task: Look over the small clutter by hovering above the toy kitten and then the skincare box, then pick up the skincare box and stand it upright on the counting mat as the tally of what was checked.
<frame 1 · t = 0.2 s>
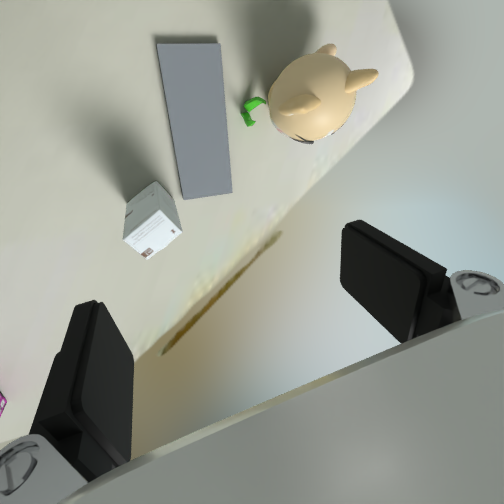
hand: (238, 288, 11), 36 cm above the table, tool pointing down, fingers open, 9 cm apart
kitten: (281, 100, 43), on the table
skincare box: (150, 202, 44), on the table
counting mat: (199, 128, 41), on the table
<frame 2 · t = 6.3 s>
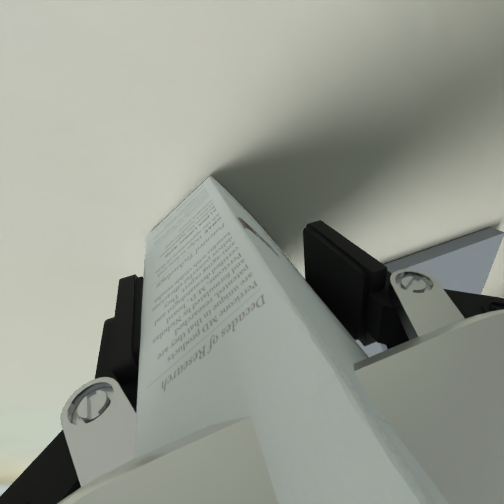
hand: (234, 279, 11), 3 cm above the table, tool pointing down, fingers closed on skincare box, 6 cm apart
skincare box: (214, 242, 14), on the table, touching gripper
counting mat: (371, 310, 21), on the table
when the fingers open (6 cm above the table, at t = 12.5 s): skincare box drops 1 cm, resting on counting mat.
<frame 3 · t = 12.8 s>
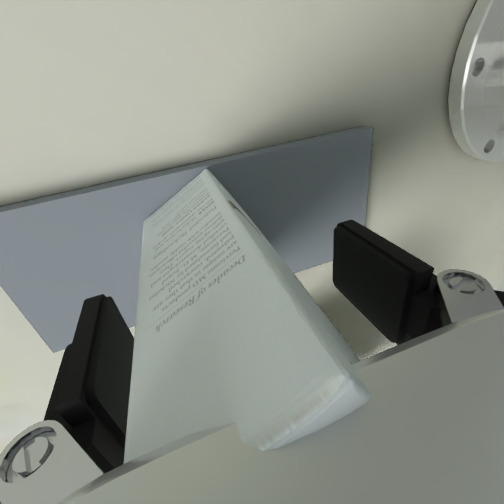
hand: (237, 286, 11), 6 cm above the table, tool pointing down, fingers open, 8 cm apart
skincare box: (207, 231, 15), point 1 cm above the table, touching counting mat
counting mat: (209, 233, 16), on the table
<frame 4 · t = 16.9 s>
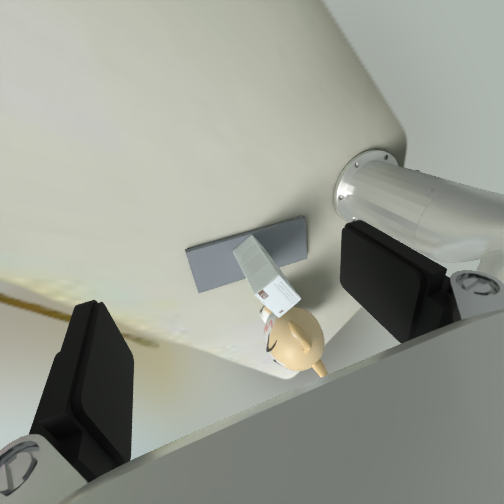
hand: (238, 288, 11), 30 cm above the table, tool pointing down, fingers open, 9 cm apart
kitten: (273, 305, 55), on the table
skincare box: (250, 252, 46), point 1 cm above the table, touching counting mat
counting mat: (250, 253, 47), on the table
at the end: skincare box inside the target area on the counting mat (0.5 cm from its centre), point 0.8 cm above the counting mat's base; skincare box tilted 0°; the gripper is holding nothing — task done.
